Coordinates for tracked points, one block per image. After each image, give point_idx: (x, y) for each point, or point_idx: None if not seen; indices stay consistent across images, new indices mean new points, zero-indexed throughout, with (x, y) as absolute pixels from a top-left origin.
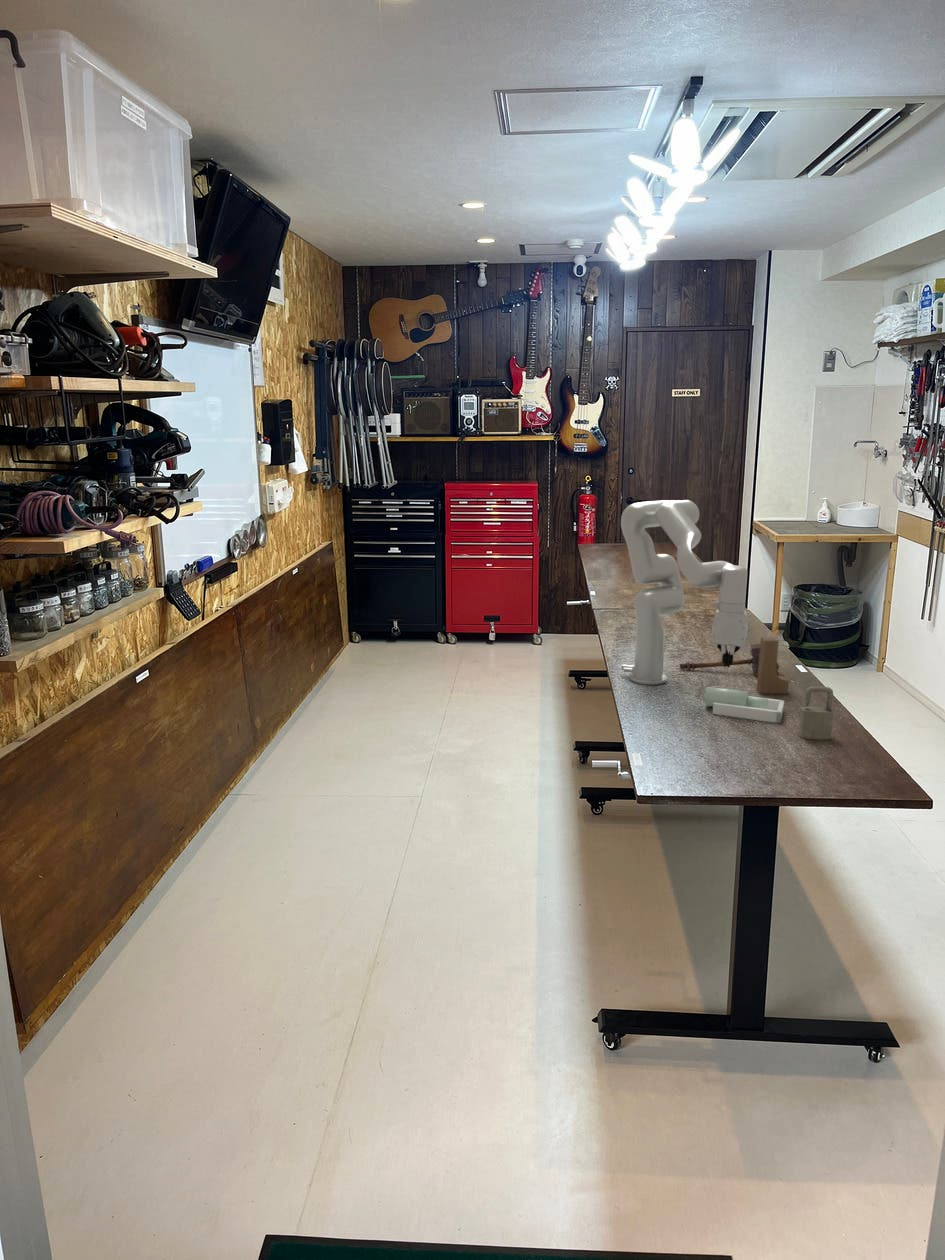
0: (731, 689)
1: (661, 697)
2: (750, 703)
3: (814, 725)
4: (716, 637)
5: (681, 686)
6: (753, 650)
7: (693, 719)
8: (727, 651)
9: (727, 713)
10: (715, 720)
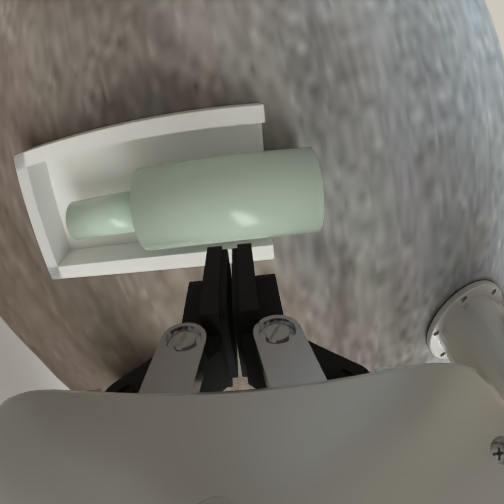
0: (209, 228)
1: (445, 204)
2: (124, 192)
3: None
4: (462, 450)
5: (393, 318)
6: None
7: (313, 19)
8: (247, 372)
9: (200, 109)
10: (232, 42)
